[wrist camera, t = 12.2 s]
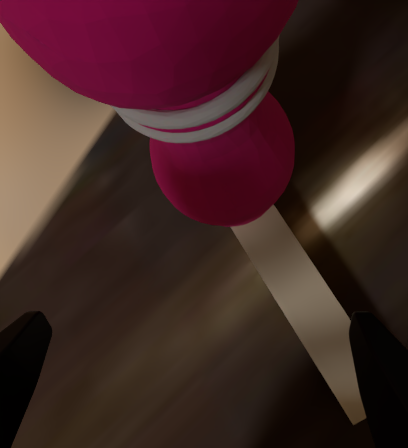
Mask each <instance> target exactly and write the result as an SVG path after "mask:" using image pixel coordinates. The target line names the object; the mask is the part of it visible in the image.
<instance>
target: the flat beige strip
mask: <svg viewBox="0 0 408 448" xmlns="http://www.w3.org/2000/svg"><path fill="white" fill-rule="evenodd" d="M231 229H232V230H233V232H234V233H235V235H236V237H237V238H238V240H239V241H240V243H241V245H242V246H243V248H244V250H245V251H246V253H247V254H248V256H249V258H250V259H251V261H252V262H253V264H254V266H255V267H256V269H257V271H258V272H259V274H260V275H261V277H262V279H263V280H264V282H265V283H266V285H267V287H268V288H269V290H270V292H271V293H272V295H273V296H274V298H275V300H276V301H277V303H278V304H279V306H280V308H281V309H282V311H283V313H284V314H285V316H286V317H287V319H288V321H289V322H290V324H291V325H292V327H293V329H294V330H295V332H296V334H297V335H298V337H299V338H300V340H301V342H302V343H303V345H304V346H305V348H306V350H307V351H308V353H309V355H310V356H311V358H312V359H313V361H314V363H315V364H316V366H317V367H318V369H319V371H320V372H321V374H322V376H323V377H324V379H325V380H326V382H327V384H328V385H329V387H330V388H331V390H332V392H333V393H334V395H335V397H336V398H337V400H338V401H339V403H340V405H341V406H342V408H343V409H344V411H345V413H346V414H347V416H348V418H349V419H350V421H351V422H352V424H353V425H354V424H356V423H358V422H360V421H362V420H364V419H365V418H367V417H366V414H365V411H364V408H363V404H362V401H361V397H360V393H359V388H358V383H357V378H356V372H355V367H354V362H353V357H352V351H351V346H350V341H349V327H350V322H351V320H350V319H349V317H348V316H347V314H346V313H345V311H344V310H343V308H342V307H341V305H340V304H339V302H338V301H337V299H336V298H335V296H334V295H333V293H332V292H331V290H330V289H329V287H328V286H327V284H326V283H325V281H324V280H323V278H322V277H321V275H320V273H319V272H318V270H317V269H316V267H315V266H314V264H313V263H312V261H311V260H310V258H309V257H308V255H307V254H306V252H305V251H304V249H303V248H302V246H301V245H300V243H299V242H298V240H297V239H296V237H295V236H294V234H293V233H292V231H291V230H290V228H289V227H288V225H287V224H286V222H285V221H284V219H283V218H282V216H281V215H280V213H279V212H278V210H277V209H276V207H275V206H274V204H273V205H272V206H271V207H270V208H269V209H268V210H267V211H266V212H265V213H264V214H263V215H262V216H261V217H259V218H258V219H256V220H254V221H252V222H250V223H248V224H245V225H240V226H233V227H231Z"/></svg>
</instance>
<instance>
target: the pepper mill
mask: <svg viewBox="0 0 408 448" xmlns="http://www.w3.org/2000/svg"><path fill="white" fill-rule="evenodd" d="M297 3H298V0H0V23H1V24H2V25H3V27H4V28H5V30H6V31H7V32H8V33H9V35H10V37H11V38H12V39H13V40H15V42H16V43H17V44H18V45H19V46H20V47H21V48H22V49H23V50H24V51H25V52H26V53H27V54H28V55H29V56H30V57H31V58H32V59H33V60H34V61H36V63H38V64H39V65H40V66H41V67H42V68H43V69H44V70H45V71H46V72H47V73H49V74H50V75H51V76H52V77H53V78H55V79H56V80H58V81H59V82H61V83H62V84H64V85H65V86H67V87H69V88H70V89H71V90H73V91H75V92H76V93H79V94H81V95H83V96H86V97H88V98H91V99H94V100H96V101H99V102H102V103H105V104H108V105H110V106H111V107H113V108H114V109H115V110H116V112H117V113H118V114H119V115H120V116H121V117H122V119H123V120H124V121H125V122H126V123H127V124H128V125H130V126H131V127H132V128H133V129H135V130H137V131H138V132H140V133H142V134H144V135H146V136H148V137H150V155H151V161H152V167H153V172H154V175H155V178H156V181H157V183H158V185H159V186H160V188H161V190H162V191H163V193H164V194H165V196H166V197H167V198H168V199H169V201H170V202H171V203H172V204H173V205H174V206H175V207H176V208H177V209H178V210H179V211H180V212H182V213H183V214H184V215H186V216H188V217H190V218H191V219H194V220H196V221H199V222H201V223H206V224H210V225H220V226H227V227H233V226H240V225H245V224H248V223H250V222H252V221H254V220H256V219H258V218H259V217H261V216H262V215H263V214H264V213H265V212H266V211H267V210H268V209H269V208H270V207H271V206H272V205H273V204H274V203H275V202H276V201H277V200H278V199H279V197H280V196H281V195H282V194H283V192H284V191H285V189H286V187H287V185H288V183H289V181H290V179H291V175H292V171H293V168H294V158H295V142H294V136H293V130H292V127H291V125H290V123H289V120H288V118H287V115H286V114H285V112H284V110H283V109H282V107H281V105H280V104H279V102H278V101H277V100H276V99H275V98H274V97H273V96H272V95H271V94H270V92H269V91H268V90H269V88H270V86H271V84H272V81H273V78H274V76H275V72H276V68H277V64H278V54H279V43H278V42H279V35H280V33H281V31H282V30H283V28H284V26H285V25H286V23H287V21H288V20H289V18H290V16H291V15H292V13H293V11H294V10H295V8H296V5H297Z"/></svg>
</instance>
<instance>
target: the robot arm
mask: <svg viewBox="0 0 408 448" xmlns="http://www.w3.org/2000/svg"><path fill="white" fill-rule="evenodd" d="M51 337H52V328H51V326H50V324H49V322H48V321H47V319H46V317H45V316H44V314H43V313H42V312H40V311H29V312H26V313H24V314H23V315H22V316H20V317H19V318H18V319H17V320H15V321H14V322H13V323H11V324H10V325H9V326H7V327H6V328H5V329H4V330H2V331H1V332H0V448H11V446H12V443H13V441H14V439H15V436H16V434H17V431H18V429H19V426H20V424H21V422H22V419H23V417H24V414H25V412H26V410H27V407H28V405H29V402H30V400H31V397H32V395H33V393H34V390H35V387H36V385H37V382H38V379H39V376H40V373H41V369H42V366H43V363H44V360H45V356H46V353H47V350H48V346H49V343H50V340H51ZM349 341H350V346H351V351H352V357H353V362H354V367H355V372H356V378H357V383H358V388H359V393H360V397H361V401H362V404H363V408H364V411H365V414H366V417H367V421H368V424H369V427H370V430H371V433H372V437H373V440H374V443H375V446H376V448H408V350H407V349H406V348H405V347H404V346H403V345H402V344H401V343H400V342H399V341H398V340H397V339H396V338H395V337H394V336H393V335H392V334H391V333H390V332H389V331H388V330H387V329H386V328H385V326H384V325H383V324H382V323H381V322H380V321H379V320H378V319H377V318H376V317H375V316H374V315H373V314H372V313H370V312H368V311H355V312H353V314H352V318H351V322H350V327H349Z"/></svg>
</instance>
